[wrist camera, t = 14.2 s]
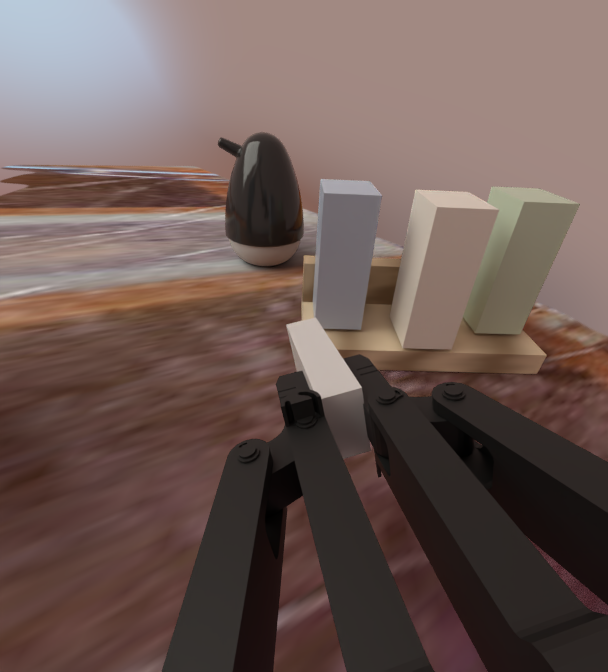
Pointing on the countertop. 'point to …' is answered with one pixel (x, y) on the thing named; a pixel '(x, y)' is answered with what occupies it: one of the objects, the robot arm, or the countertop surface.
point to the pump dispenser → (263, 201)
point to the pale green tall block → (517, 257)
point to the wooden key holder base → (388, 353)
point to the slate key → (344, 251)
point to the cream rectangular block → (439, 266)
